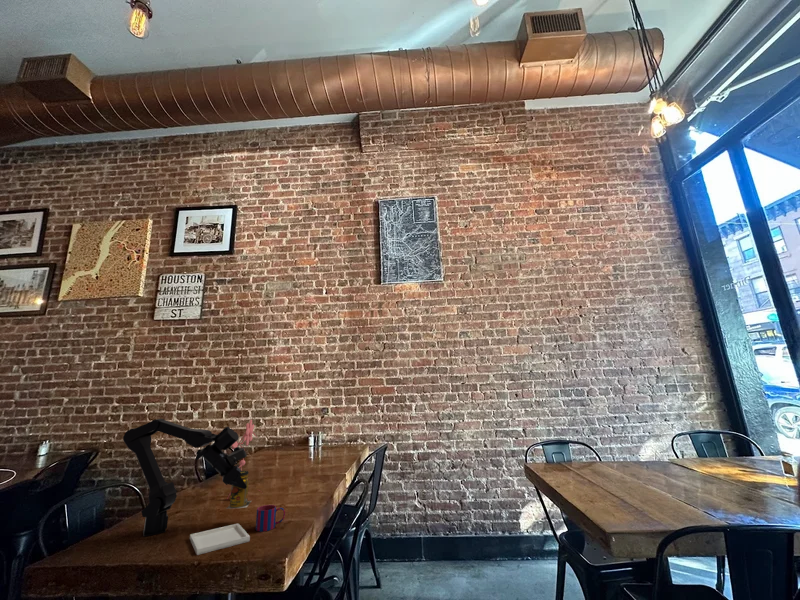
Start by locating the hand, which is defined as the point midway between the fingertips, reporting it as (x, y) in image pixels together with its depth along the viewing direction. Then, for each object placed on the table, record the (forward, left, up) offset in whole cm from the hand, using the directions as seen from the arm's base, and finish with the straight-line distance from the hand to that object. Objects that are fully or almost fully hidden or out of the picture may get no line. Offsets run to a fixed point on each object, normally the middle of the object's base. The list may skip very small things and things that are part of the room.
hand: (245, 486), depth 139 cm
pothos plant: (+11, +39, -13) cm, 43 cm away
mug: (+7, -11, -13) cm, 19 cm away
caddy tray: (-10, -11, -13) cm, 20 cm away
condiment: (-1, +1, -7) cm, 7 cm away
